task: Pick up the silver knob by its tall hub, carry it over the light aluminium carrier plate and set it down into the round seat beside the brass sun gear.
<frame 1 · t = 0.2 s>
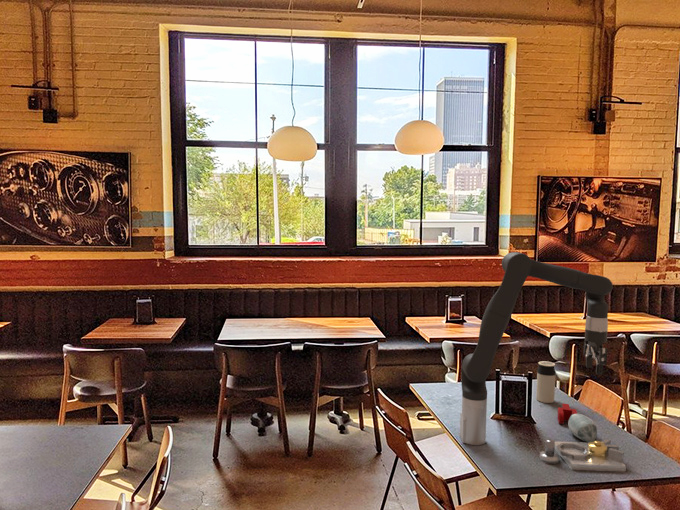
hand: (593, 370, 194), 29 cm above the table, fingers open, 8 cm apart
carrier: (587, 458, 184), on the table
travel mug: (545, 400, 244), on the table
silver knob: (549, 459, 183), on the table
mechanical linkage: (566, 420, 221), on the table
streaked stone egg: (581, 437, 203), on the table
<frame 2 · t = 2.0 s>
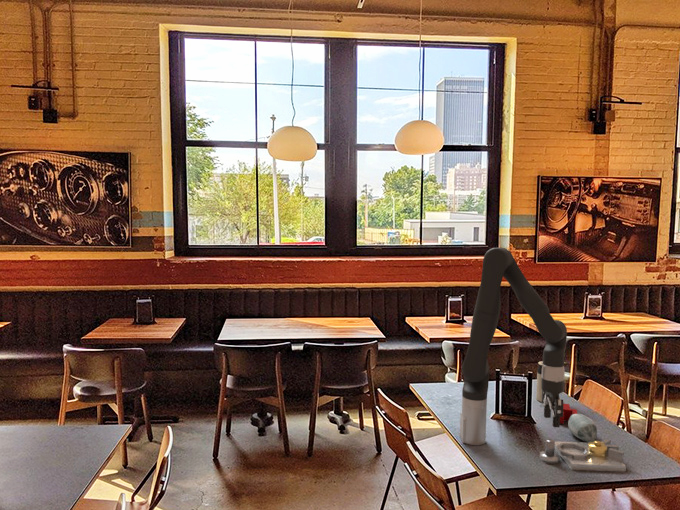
hand: (551, 422, 182), 14 cm above the table, fingers open, 8 cm apart
nothing on the table moved.
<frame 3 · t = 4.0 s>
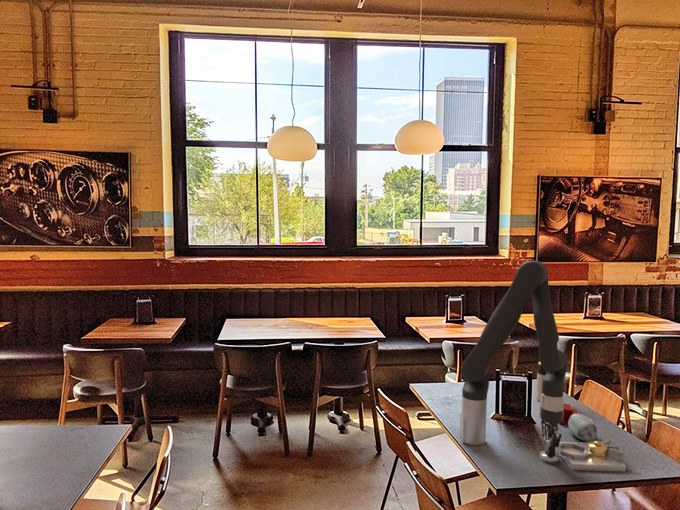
hand: (549, 453, 183), 2 cm above the table, fingers closed on silver knob, 3 cm apart
silver knob: (549, 459, 183), on the table, touching gripper
everything else where it was.
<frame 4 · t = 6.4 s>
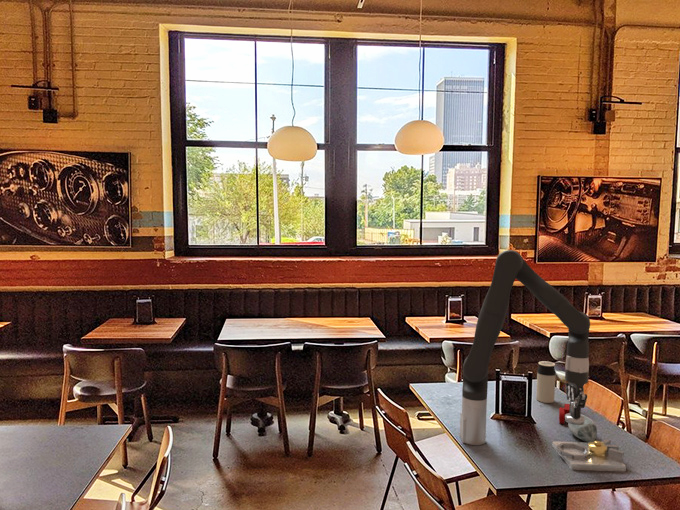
hand: (574, 415, 183), 16 cm above the table, fingers closed on silver knob, 3 cm apart
silver knob: (574, 421, 184), point 13 cm above the table, touching gripper
everything else where it was.
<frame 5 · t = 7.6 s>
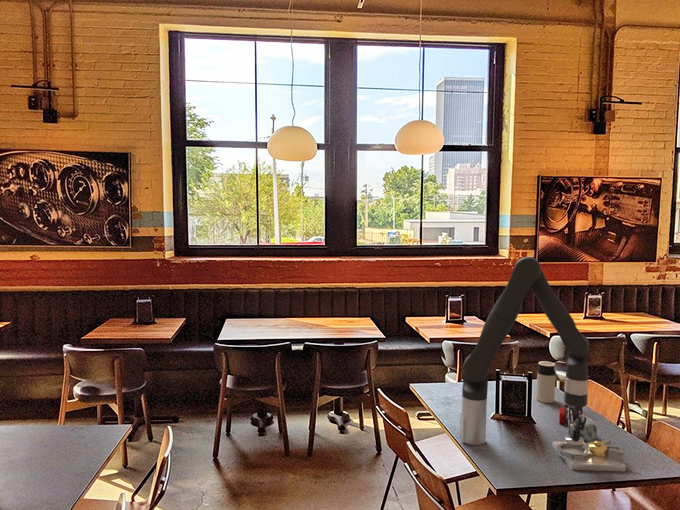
hand: (574, 437, 184), 8 cm above the table, fingers closed on silver knob, 3 cm apart
silver knob: (573, 443, 184), point 5 cm above the table, touching gripper
everything else where it was.
when the fingers open (6 cm above the table, at t = 8.7 s): silver knob drops 1 cm, resting on carrier.
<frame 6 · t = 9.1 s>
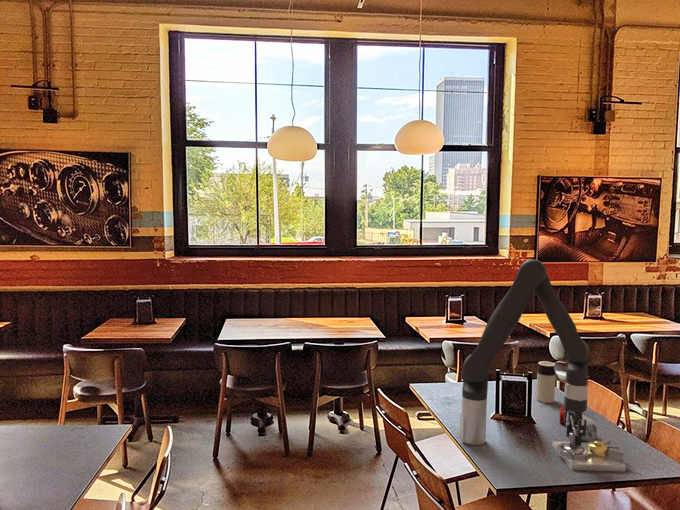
hand: (573, 441, 184), 6 cm above the table, fingers open, 6 cm apart
silver knob: (573, 452, 184), point 2 cm above the table, touching carrier
everything else where it was.
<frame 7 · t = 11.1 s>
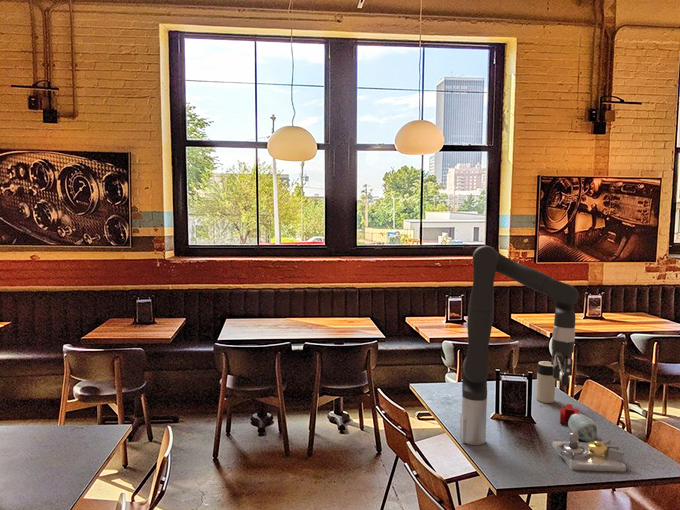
hand: (560, 381, 189), 26 cm above the table, fingers open, 8 cm apart
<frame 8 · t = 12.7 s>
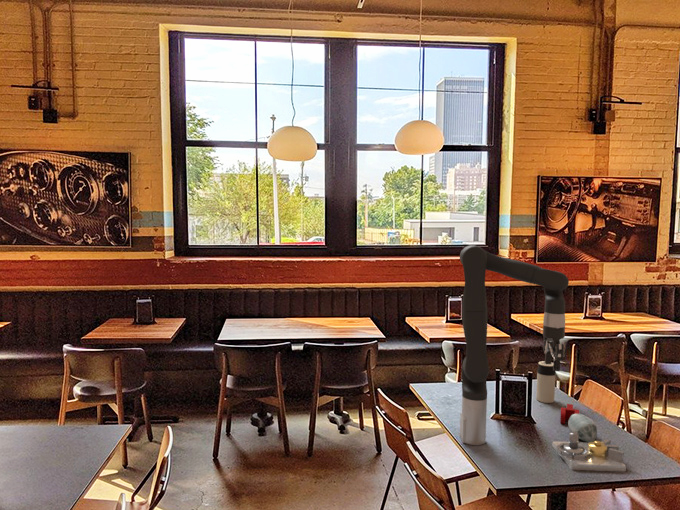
hand: (552, 367, 193), 30 cm above the table, fingers open, 8 cm apart
at the end: silver knob 0.1 cm from the target spot on the carrier, point 2.0 cm above the carrier's base; silver knob tilted 0°; the gripper is holding nothing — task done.
